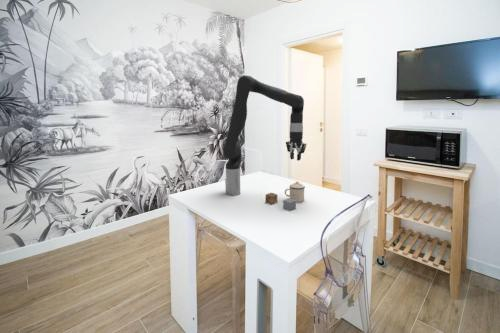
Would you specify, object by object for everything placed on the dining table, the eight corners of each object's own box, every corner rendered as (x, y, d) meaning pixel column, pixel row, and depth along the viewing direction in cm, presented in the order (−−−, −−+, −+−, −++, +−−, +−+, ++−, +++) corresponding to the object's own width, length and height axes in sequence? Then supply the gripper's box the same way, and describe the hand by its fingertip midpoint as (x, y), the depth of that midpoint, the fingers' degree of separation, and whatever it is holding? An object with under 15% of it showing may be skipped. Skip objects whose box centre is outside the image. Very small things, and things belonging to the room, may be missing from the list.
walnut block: (265, 202, 163) (265, 194, 162) (271, 200, 166) (271, 192, 165) (271, 204, 160) (271, 196, 158) (277, 202, 163) (277, 194, 162)
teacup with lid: (302, 197, 171) (302, 179, 168) (305, 202, 162) (306, 183, 160) (283, 197, 171) (283, 179, 168) (285, 202, 162) (286, 184, 159)
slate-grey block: (283, 208, 153) (283, 200, 152) (288, 206, 156) (289, 198, 155) (289, 211, 149) (290, 202, 148) (295, 208, 153) (295, 200, 152)
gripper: (282, 130, 160) (282, 158, 163) (302, 132, 149) (301, 162, 153) (290, 129, 165) (290, 157, 168) (310, 131, 154) (309, 160, 158)
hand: (295, 159), depth 161 cm, fingers open, 4 cm apart
